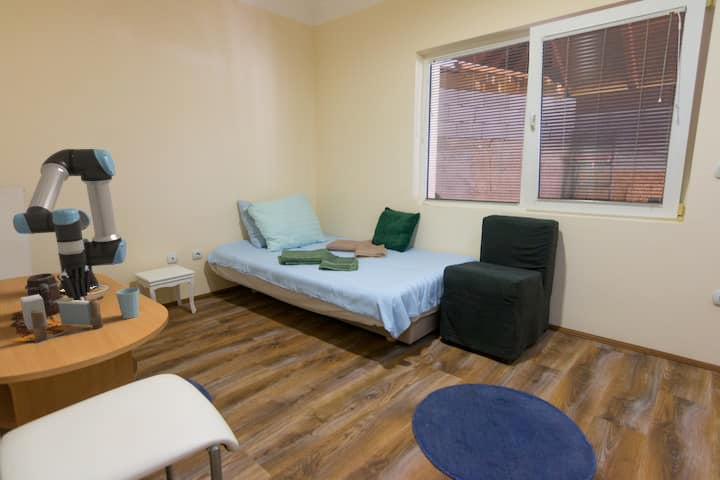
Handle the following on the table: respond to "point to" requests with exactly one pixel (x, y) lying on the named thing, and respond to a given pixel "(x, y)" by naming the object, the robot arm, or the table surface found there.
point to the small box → (31, 308)
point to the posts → (41, 332)
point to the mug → (45, 291)
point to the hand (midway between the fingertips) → (82, 313)
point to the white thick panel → (74, 312)
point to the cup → (128, 302)
